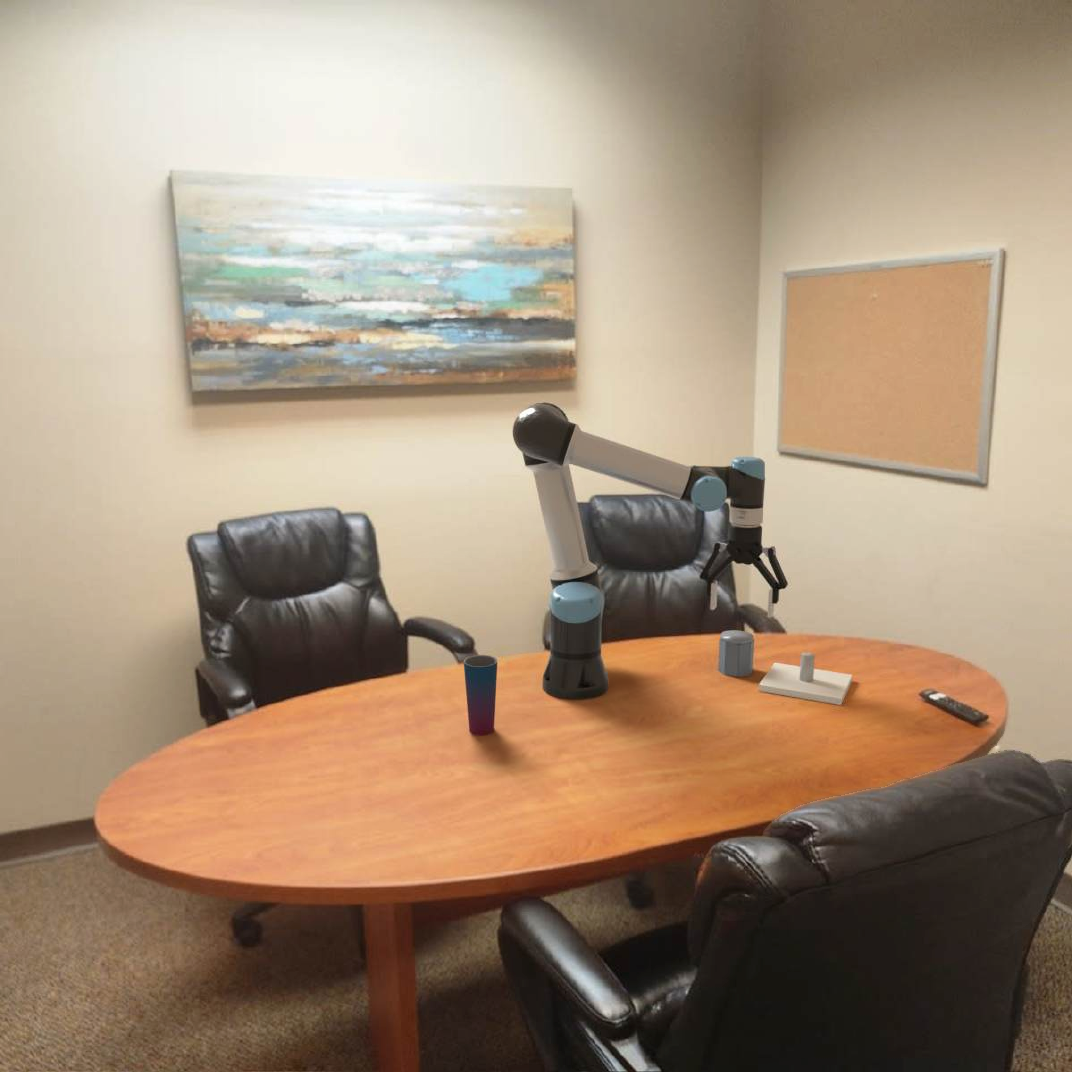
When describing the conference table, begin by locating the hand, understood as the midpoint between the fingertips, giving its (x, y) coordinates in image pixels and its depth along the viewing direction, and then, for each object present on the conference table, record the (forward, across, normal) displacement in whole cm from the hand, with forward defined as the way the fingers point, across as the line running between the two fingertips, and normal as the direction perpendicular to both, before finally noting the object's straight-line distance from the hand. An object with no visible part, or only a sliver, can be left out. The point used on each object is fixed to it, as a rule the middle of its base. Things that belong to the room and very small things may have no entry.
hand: (741, 612), depth 209 cm
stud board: (+15, +16, -1) cm, 22 cm away
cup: (+15, -38, -56) cm, 70 cm away
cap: (+15, -1, +1) cm, 15 cm away
